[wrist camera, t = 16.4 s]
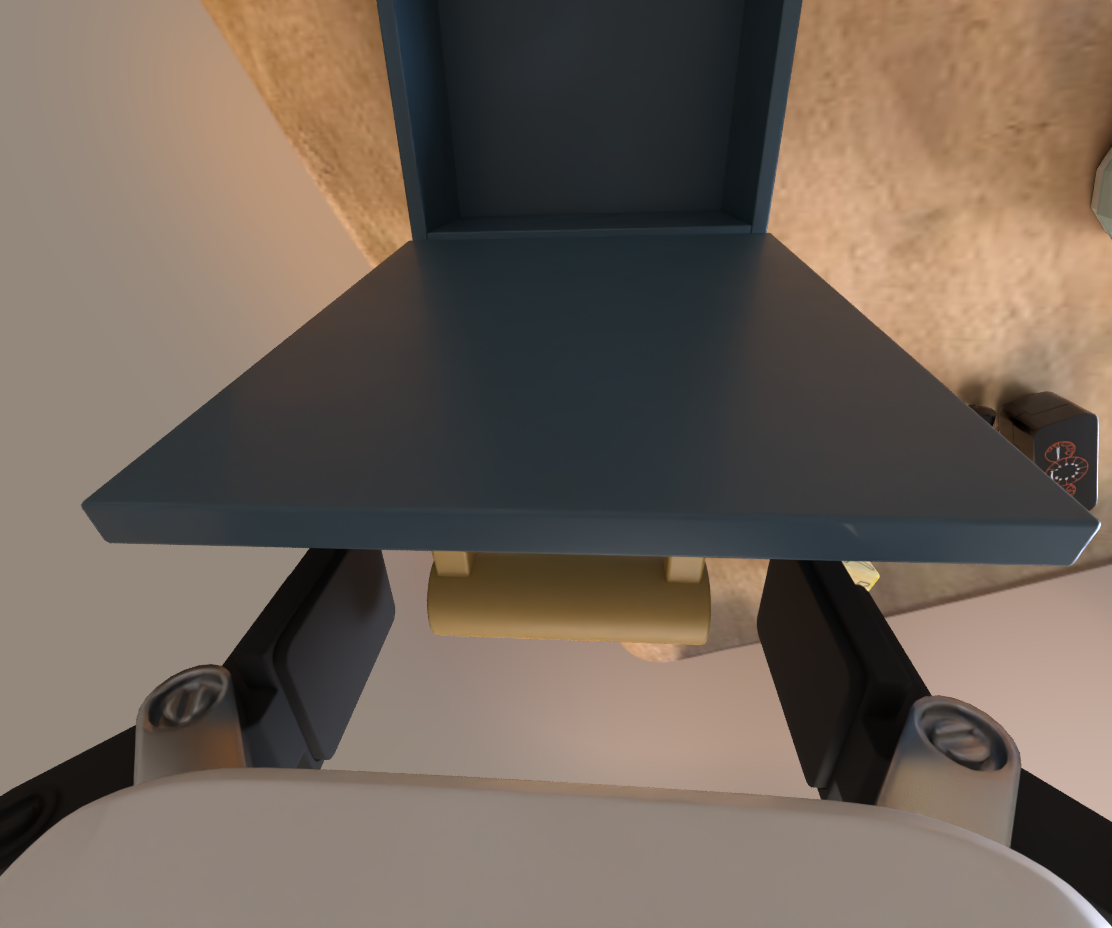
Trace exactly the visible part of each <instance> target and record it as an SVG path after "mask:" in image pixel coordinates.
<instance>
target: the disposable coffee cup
mask: <svg viewBox="0 0 1112 928" xmlns="http://www.w3.org/2000/svg"><path fill="white" fill-rule="evenodd" d="M1091 209H1092V210H1093V212H1094V214H1095V215H1096V217H1097V219H1098V220H1099V222H1100V224H1101V225H1102V227H1103V229H1104V230H1105V232H1106V233H1107V234H1109V236H1110V238H1111V239H1112V147H1111V148H1110V150H1109V152H1108V153H1107V155H1106V156H1105V158H1104V159H1103V161H1102V162H1101V164H1100V165H1099V167H1098V168H1097V172H1096V178H1095V185H1094V191H1093V197H1092V204H1091Z"/></svg>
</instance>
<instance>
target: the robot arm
mask: <svg viewBox="0 0 1112 928" xmlns="http://www.w3.org/2000/svg"><path fill="white" fill-rule="evenodd" d="M394 616H395V604H394V600H393V596H392V592H391V588H390V584H389V580H388V576H387V572H386V567H385V563H384V559H383V555H382V551H381V550H374V549H333V548H309V550H308V551H307V552H306V554H305V555H304V557H303V558H302V559H301V561H300V562H299V563H298V565H297V566H296V567H295V569H294V570H293V572H292V573H291V574H290V575H289V576H288V577H287V579H286V580H285V581H284V583H283V584H282V585H281V587H280V588H279V590H278V591H277V592H276V594H275V595H274V596H273V598H272V599H271V600H270V602H269V603H268V604H267V606H266V607H265V608H264V610H263V611H262V612H261V614H260V615H259V617H258V618H257V619H256V621H255V622H254V623H253V625H252V626H251V627H250V629H249V630H248V631H247V633H246V634H245V636H244V637H243V638H242V639H241V641H240V642H239V644H238V645H237V646H236V648H235V649H234V651H233V652H232V653H231V654H230V656H229V657H228V659H227V660H226V661H225V663H224V664H223V665H222V666H218V665H212V664H209V665H199V666H196V667H192V668H189V669H186V670H183V671H181V672H180V673H177V674H175V675H173V676H171V677H170V678H168V679H167V680H166V681H164V682H163V683H162V684H160V685H159V686H157V687H156V688H155V689H154V690H153V691H152V692H151V693H150V694H149V695H148V696H147V697H146V699H145V701H144V702H143V704H142V705H141V707H140V708H139V712H138V715H137V719H136V725H135V726H133V727H131V728H129V729H127V730H125V731H123V732H121V733H119V734H118V735H116V736H114V737H112V738H110V739H108V740H106V741H104V742H102V743H100V744H98V745H96V746H94V747H92V748H90V749H89V750H87V751H85V752H83V753H81V754H79V755H77V756H75V757H73V758H71V759H69V760H67V761H65V762H64V763H62V764H59V765H58V766H56V767H54V768H52V769H50V770H48V771H46V772H44V773H42V774H40V775H38V776H37V777H34V778H32V779H30V780H28V781H27V782H25V783H23V784H21V785H19V786H17V787H15V788H13V789H11V790H10V791H8V792H7V793H5V794H3V795H2V796H0V928H1112V822H1111V821H1109V820H1108V819H1106V818H1104V817H1103V816H1101V815H1099V814H1098V813H1096V812H1094V811H1092V810H1091V809H1089V808H1088V807H1086V806H1084V805H1082V804H1081V803H1079V802H1078V801H1076V800H1074V799H1073V798H1071V797H1069V796H1067V795H1066V794H1064V793H1063V792H1061V791H1059V790H1058V789H1056V788H1054V787H1053V786H1051V785H1049V784H1048V783H1046V782H1044V781H1042V780H1041V779H1039V778H1037V777H1036V776H1034V775H1033V774H1031V773H1029V772H1028V771H1026V770H1024V769H1023V768H1021V758H1020V752H1019V750H1018V748H1017V746H1016V744H1015V742H1014V740H1013V739H1012V737H1011V736H1010V735H1009V734H1008V733H1007V731H1006V730H1005V729H1004V728H1003V727H1002V726H1001V725H1000V724H999V723H998V722H996V721H995V720H994V719H993V718H992V717H990V716H989V715H988V714H986V713H985V712H983V711H981V710H980V709H978V708H976V707H974V706H973V705H971V704H968V703H966V702H963V701H960V700H958V699H955V698H951V697H945V696H940V695H937V696H932V695H931V694H930V692H929V690H928V689H927V687H926V686H925V684H924V682H923V681H922V679H921V677H920V676H919V674H918V672H917V671H916V669H915V667H914V666H913V664H912V662H911V661H910V659H909V657H908V656H907V654H906V653H905V651H904V649H903V648H902V646H901V644H900V643H899V641H898V640H897V638H896V636H895V635H894V633H893V631H892V630H891V628H890V626H889V625H888V623H887V621H886V620H885V618H884V616H883V615H882V613H881V612H880V610H879V608H878V607H877V605H876V603H875V602H874V600H873V598H872V597H871V595H870V593H869V592H868V591H867V590H866V588H865V587H863V586H862V585H860V584H855V583H854V581H853V579H852V578H851V576H850V574H849V573H848V571H847V569H846V567H845V566H844V564H843V562H842V561H826V560H785V559H770V562H769V566H768V571H767V575H766V580H765V585H764V589H763V594H762V598H761V603H760V607H759V612H758V617H757V630H758V635H759V638H760V641H761V644H762V647H763V651H764V653H765V656H766V660H767V663H768V666H769V668H770V672H771V675H772V678H773V681H774V684H775V687H776V690H777V693H778V697H779V700H780V702H781V706H782V709H783V712H784V715H785V718H786V721H787V724H788V727H789V730H790V733H791V736H792V739H793V743H794V746H795V748H796V752H797V755H798V758H799V761H800V764H801V767H802V770H803V773H804V776H805V779H806V781H807V783H808V785H809V786H810V787H816V788H818V792H819V795H820V798H821V800H819V799H807V798H806V799H805V798H794V797H781V796H770V795H757V794H743V793H728V792H713V791H697V790H681V789H665V788H649V787H634V786H617V785H601V784H582V783H567V782H566V783H565V782H550V781H532V780H515V779H497V778H480V777H462V776H441V775H423V774H405V773H386V772H366V771H346V770H321V766H322V764H323V762H324V760H329V759H331V758H332V756H333V755H334V753H335V751H336V749H337V747H338V745H339V742H340V740H341V738H342V736H343V733H344V731H345V729H346V727H347V724H348V722H349V720H350V718H351V715H352V713H353V711H354V708H355V706H356V704H357V701H358V700H359V697H360V695H361V693H362V691H363V688H364V686H365V684H366V682H367V680H368V677H369V675H370V673H371V670H372V668H373V666H374V663H375V662H376V659H377V657H378V655H379V653H380V650H381V648H382V646H383V644H384V641H385V639H386V637H387V635H388V632H389V630H390V628H391V626H392V623H393V621H394Z"/></svg>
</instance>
